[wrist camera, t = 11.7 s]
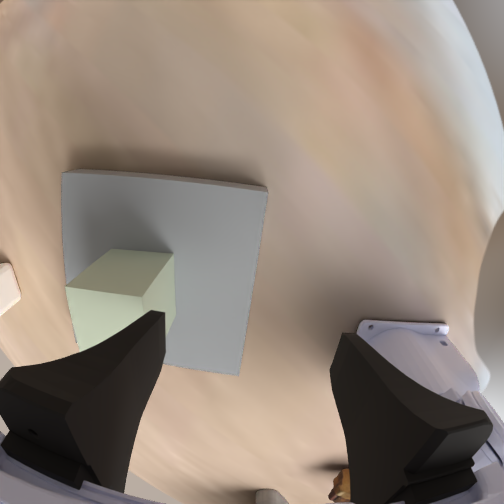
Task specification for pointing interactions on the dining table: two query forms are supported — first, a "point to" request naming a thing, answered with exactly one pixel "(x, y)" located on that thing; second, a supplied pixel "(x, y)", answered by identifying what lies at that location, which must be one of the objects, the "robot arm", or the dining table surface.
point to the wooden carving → (341, 488)
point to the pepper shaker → (8, 288)
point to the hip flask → (269, 497)
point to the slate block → (175, 250)
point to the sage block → (120, 293)
